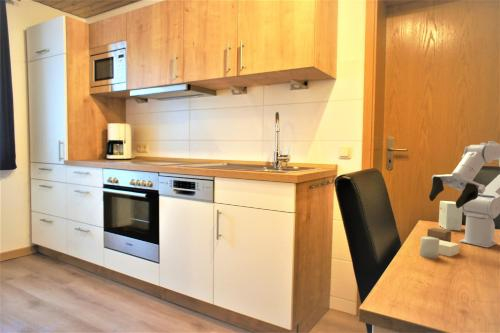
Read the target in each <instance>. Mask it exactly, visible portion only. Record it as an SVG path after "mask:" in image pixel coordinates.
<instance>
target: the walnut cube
mask: <svg viewBox="0 0 500 333" xmlns="http://www.w3.org/2000/svg"><path fill="white" fill-rule="evenodd" d="M426 235H427V236H428V237H434V238H438V239H439V240H443V241H447V242H452V230H446V229H444V228H440V227H439V228H438V227H431V228H428V229H427V234H426Z"/></svg>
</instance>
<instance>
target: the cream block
mask: <svg viewBox="0 0 500 333" xmlns="http://www.w3.org/2000/svg"><path fill="white" fill-rule="evenodd" d="M459 252H460V243H456V242H452V241H451V242H447V241H443V240H439V255H441V256H445V257H449V258H450V257H453V256H455V255H458V254H460V253H459Z"/></svg>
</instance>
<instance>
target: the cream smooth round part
mask: <svg viewBox="0 0 500 333" xmlns="http://www.w3.org/2000/svg"><path fill="white" fill-rule="evenodd" d="M439 255H440V254H439V239H438V238H434V237H428V236H421V237H420V249H419V256H421V257H423V258H426V259H433V260H437V259H439Z"/></svg>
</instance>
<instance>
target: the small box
mask: <svg viewBox="0 0 500 333" xmlns="http://www.w3.org/2000/svg"><path fill="white" fill-rule="evenodd" d="M438 212H439V213H438V214H439V215H438V227H440V226H441V228H442V227H443V228H442V229H445V230H450V231H460V232H461V231H462V226H463V225H462V223H463V222H462V221H463V211H462V209H461V207H460V208H457V207H456V201H451V200H450V201H449V200H448V201H447V200H440V201H439V210H438Z"/></svg>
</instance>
